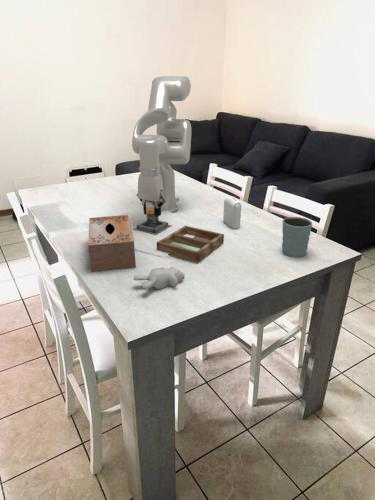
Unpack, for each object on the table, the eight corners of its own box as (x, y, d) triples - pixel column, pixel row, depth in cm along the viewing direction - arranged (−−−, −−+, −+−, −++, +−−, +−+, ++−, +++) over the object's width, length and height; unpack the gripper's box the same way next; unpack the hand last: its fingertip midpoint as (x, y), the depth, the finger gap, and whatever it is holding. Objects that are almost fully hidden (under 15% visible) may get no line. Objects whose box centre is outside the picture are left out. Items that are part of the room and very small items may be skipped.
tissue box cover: (92, 241, 143) (89, 217, 138) (129, 238, 146) (127, 214, 141) (92, 273, 120) (88, 245, 116) (135, 268, 123) (133, 241, 119)
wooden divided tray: (185, 234, 149) (185, 225, 147) (223, 243, 141) (223, 234, 139) (157, 252, 134) (156, 242, 132) (198, 263, 125) (198, 253, 124)
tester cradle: (149, 222, 161) (149, 217, 160) (172, 227, 155) (172, 222, 154) (132, 231, 152) (132, 225, 150) (155, 237, 146) (155, 231, 145)
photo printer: (221, 221, 162) (222, 194, 156) (230, 220, 163) (231, 193, 158) (232, 229, 153) (233, 201, 148) (241, 228, 154) (243, 200, 149)
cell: (151, 217, 156) (150, 195, 151) (161, 220, 153) (160, 198, 149) (144, 221, 152) (142, 199, 147) (154, 224, 149) (152, 201, 145)
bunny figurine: (190, 273, 111) (145, 281, 103) (188, 288, 113) (144, 297, 105) (174, 261, 118) (131, 268, 110) (172, 275, 120) (131, 283, 112)
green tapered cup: (303, 260, 127) (307, 228, 122) (275, 254, 132) (278, 223, 127) (310, 250, 135) (315, 219, 130) (284, 244, 140) (287, 214, 135)
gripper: (127, 170, 144) (130, 213, 152) (162, 176, 136) (164, 221, 144) (138, 166, 150) (141, 208, 158) (173, 172, 142) (174, 215, 150)
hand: (152, 214), depth 151 cm, fingers closed on cell, 5 cm apart
